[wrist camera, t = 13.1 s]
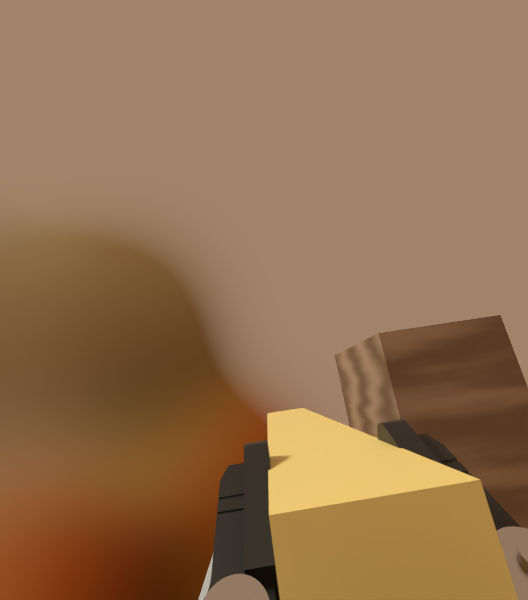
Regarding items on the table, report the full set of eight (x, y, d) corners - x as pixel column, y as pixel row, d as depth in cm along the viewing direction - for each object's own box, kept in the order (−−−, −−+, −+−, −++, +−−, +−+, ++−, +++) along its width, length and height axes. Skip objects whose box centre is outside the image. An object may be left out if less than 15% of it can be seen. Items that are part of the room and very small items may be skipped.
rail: (575, 779, 4) (480, 479, 5) (310, 835, 4) (269, 515, 5) (309, 446, 29) (302, 407, 30) (273, 452, 29) (267, 413, 30)
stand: (731, 924, 15) (500, 315, 24) (541, 967, 15) (378, 333, 24) (498, 657, 31) (409, 344, 40) (402, 675, 30) (334, 355, 39)
